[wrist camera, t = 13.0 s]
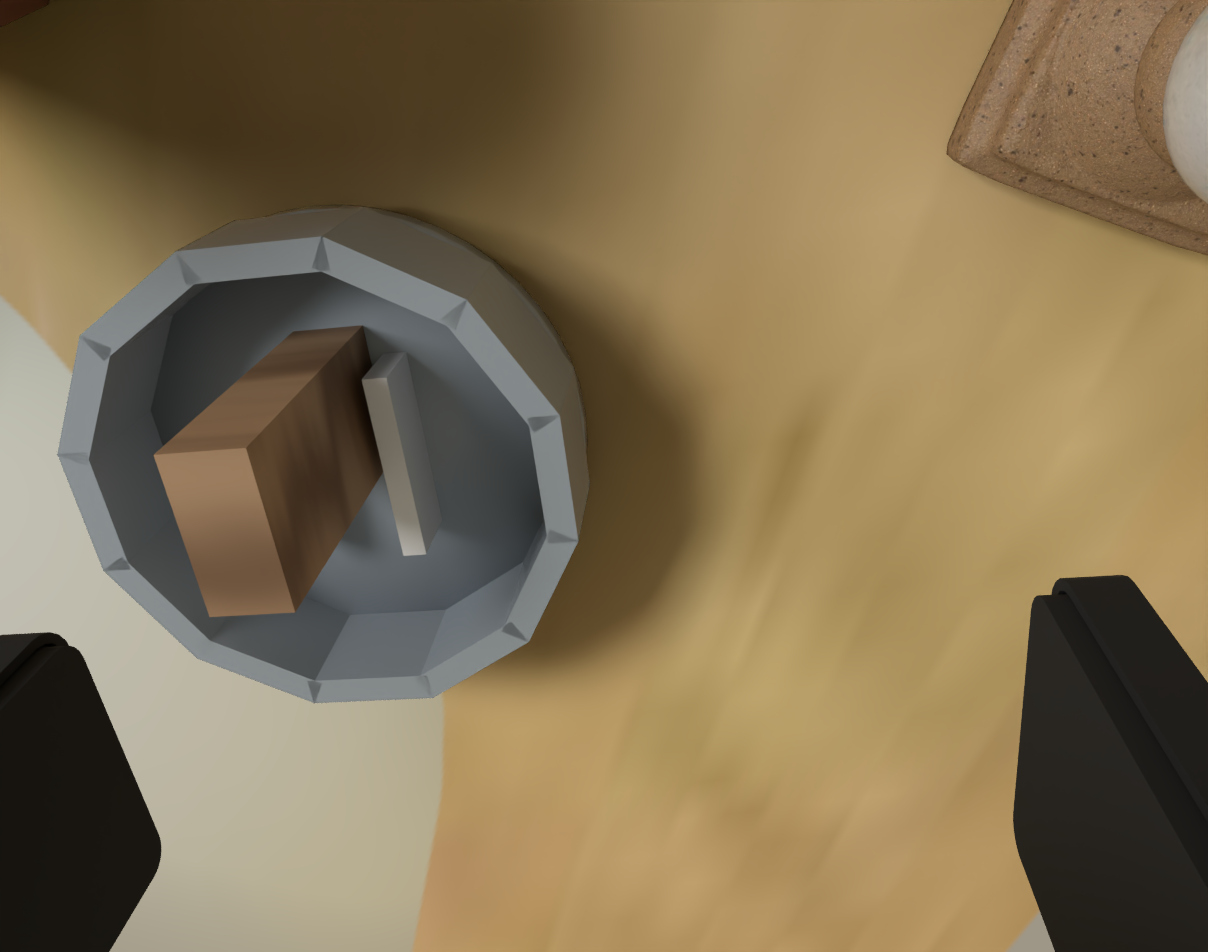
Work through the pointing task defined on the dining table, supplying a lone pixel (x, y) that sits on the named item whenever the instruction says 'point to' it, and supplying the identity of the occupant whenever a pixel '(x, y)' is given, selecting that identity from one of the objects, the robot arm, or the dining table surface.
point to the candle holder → (1098, 112)
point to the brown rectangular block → (275, 472)
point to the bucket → (18, 9)
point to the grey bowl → (403, 435)
